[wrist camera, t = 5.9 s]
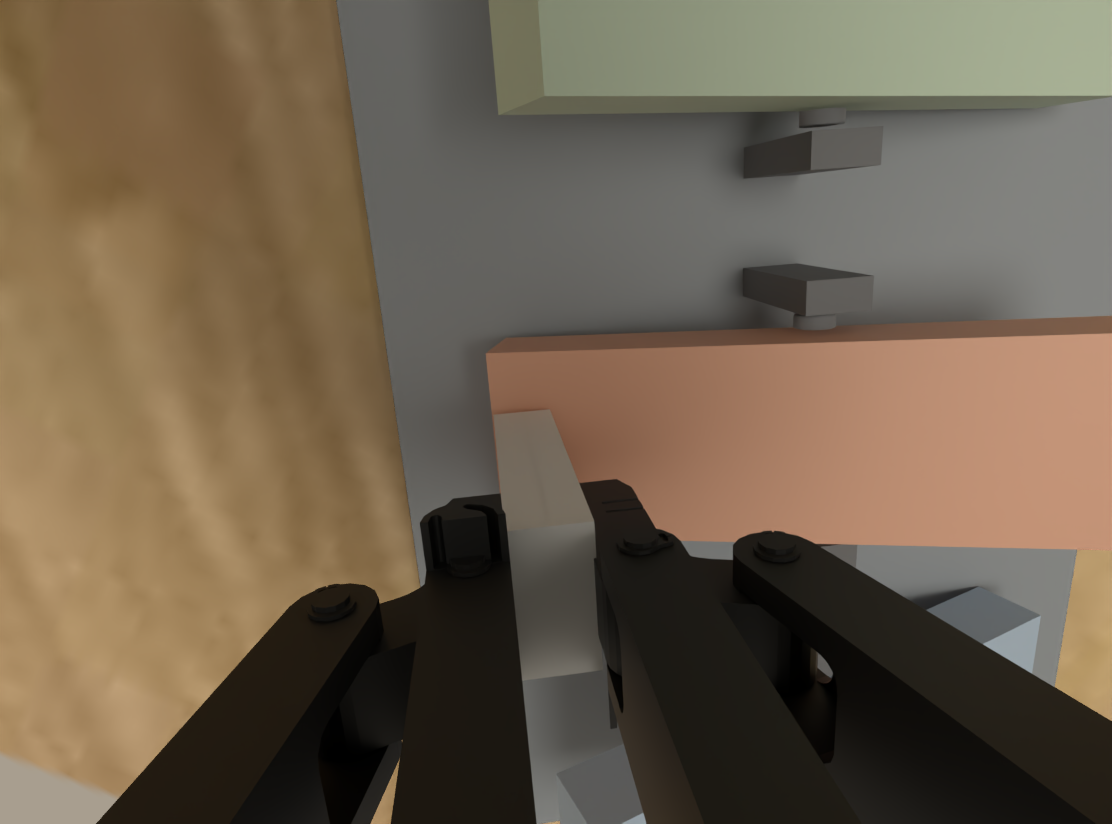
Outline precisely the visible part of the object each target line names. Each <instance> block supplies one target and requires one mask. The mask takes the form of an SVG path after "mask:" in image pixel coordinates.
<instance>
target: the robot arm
mask: <svg viewBox="0 0 1112 824" xmlns="http://www.w3.org/2000/svg"><path fill="white" fill-rule="evenodd" d="M493 416H494V427H495V438H496V448H497V459H498V469H499V480H500V491H501V493H499V494H490V495H481V496H471V497H462V498H453V499H452V500H451V501H450V502H449V503H448V504H447V505H445V506H442V507H439V508H437V509H434V510H432V511H431V512H429V513H428V514H426V515H425V516H424V517H423V519H422V520H421V522H420V529H421V537H422V544H423V551H424V558H425V566H426V577H425V584H424V585H423V586H422V587H420V588H419V589H417V590H415V591H414V592H412V593H410V594H408V595H405V596H402V597H400V598H397V599H394V600H391V601H387V602H384V603H381V604H379V598H378V596H377V594H376V592H375V590H373V589H371V588H369V587H367V586H365V585H359V584H333V585H328V587H326V586H325V587H322V588H319V589H316V590H315V591H313V592H311V593H309V594H307V595H305V596H303V597H301V598H300V599H299V600H297V601H296V602H295V603H294V604H292V605H291V606H290V607H289V608H288V609H287V610H286V611H285V613H284V614H283V615H282V616H281V617H280V618H279V619H278V620H277V621H276V623H275V624H274V625H273V626H272V627H271V628H270V629H269V630H268V632H267V633H266V634H265V635H264V636H263V637H262V638H261V639H260V641H259V642H258V643H257V644H256V645H255V646H254V647H253V648H252V650H251V651H250V652H249V653H248V654H247V655H246V656H245V657H244V658H243V660H242V661H241V662H240V663H239V664H238V665H237V666H236V667H235V669H234V670H233V671H232V672H231V673H230V674H229V675H228V676H227V678H226V679H225V680H224V681H223V682H222V683H221V684H220V685H219V687H218V688H217V689H216V690H215V691H214V692H213V693H212V694H211V695H210V697H209V698H208V699H207V700H206V701H205V702H204V703H203V704H202V706H201V707H200V708H199V709H198V710H197V711H196V712H195V713H194V715H193V716H192V717H191V718H190V719H189V720H188V721H187V722H186V724H185V725H184V726H183V727H182V728H181V729H180V730H179V731H178V732H177V734H176V735H175V736H174V737H173V738H172V739H171V740H170V741H169V743H168V744H167V745H166V746H165V747H164V748H163V749H162V750H161V752H160V753H159V754H158V755H157V756H156V757H155V758H154V759H153V761H152V762H151V763H150V764H149V765H148V766H147V767H146V768H145V769H144V771H143V772H142V773H141V774H140V775H139V776H138V777H137V778H136V780H135V781H134V782H133V783H132V784H131V785H130V786H129V787H128V789H127V790H126V791H125V792H124V793H123V794H122V795H121V796H120V798H119V799H118V800H117V801H116V802H115V803H114V804H113V806H112V807H111V808H110V809H109V810H108V811H107V812H106V813H105V814H104V815H103V817H102V818H101V819H100V820H99V821H98V822H97V823H96V824H370V823H371V821H372V819H373V816H374V814H375V812H376V810H377V808H378V805H379V803H380V801H381V799H382V796H383V794H384V792H385V790H386V787H387V785H388V783H389V781H390V779H391V776H392V774H393V772H394V770H395V767H396V765H397V763H398V761H399V758H400V762H399V769H398V776H397V783H396V791H395V798H394V805H393V812H392V819H391V824H537V822H536V812H535V802H534V792H533V783H532V773H531V763H530V753H529V743H528V733H527V723H526V713H525V703H524V693H523V683H522V681H524V680H532V679H539V678H547V677H554V676H563V675H570V674H578V673H585V672H593V671H600V670H603V661H602V649H603V653H604V656H605V659H606V662H607V679H608V697H609V714H610V729H615V728H617V722H618V726H619V729H620V733H621V736H622V740H623V743H624V747H625V750H626V754H627V757H628V761H629V764H630V768H631V771H632V775H633V778H634V782H635V785H636V789H637V792H638V796H639V799H640V803H641V806H642V810H643V813H644V817H645V820H646V824H1112V721H1110V720H1109V719H1107V718H1105V717H1103V716H1102V715H1100V714H1098V713H1097V712H1095V711H1093V710H1092V709H1090V708H1088V707H1087V706H1085V705H1083V704H1082V703H1080V702H1078V701H1077V700H1075V699H1073V698H1072V697H1070V696H1068V695H1067V694H1065V693H1063V692H1062V691H1060V690H1058V689H1057V688H1055V687H1053V686H1052V685H1050V684H1048V683H1047V682H1045V681H1043V680H1042V679H1040V678H1038V677H1037V676H1035V675H1033V674H1032V673H1030V672H1028V671H1027V670H1025V669H1023V668H1022V667H1020V666H1018V665H1017V664H1015V663H1013V662H1012V661H1010V660H1008V659H1007V658H1005V657H1003V656H1002V655H1000V654H998V653H997V652H995V651H993V650H992V649H990V648H988V647H987V646H985V645H983V644H982V643H980V642H978V641H977V640H975V639H973V638H972V637H970V636H968V635H967V634H965V633H963V632H962V631H960V630H958V629H957V628H955V627H953V626H952V625H950V624H948V623H947V622H945V621H943V620H942V619H940V618H938V617H937V616H935V615H933V614H932V613H930V612H928V611H927V610H925V609H923V608H922V607H920V606H918V605H917V604H915V603H913V602H912V601H910V600H908V599H907V598H905V597H903V596H902V595H900V594H898V593H897V592H895V591H893V590H892V589H890V588H888V587H886V586H885V585H883V584H881V583H880V582H878V581H876V580H875V579H873V578H871V577H870V576H868V575H866V574H865V573H863V572H861V571H860V570H858V569H856V568H855V567H853V566H851V565H850V564H848V563H846V562H845V561H843V560H841V559H840V558H838V557H836V556H835V555H833V554H831V553H830V552H828V551H826V550H825V549H823V548H821V547H820V546H818V545H816V544H815V543H813V542H811V541H809V540H807V539H804V538H802V537H800V536H797V535H792V534H787V533H785V532H782V531H774V532H772V531H762V532H759V533H752V534H749V535H746V536H744V537H741V538H739V539H738V540H737V541H736V542H735V543H734V544H733V560H725V559H708V558H698V557H693V556H690V555H689V553H688V552H687V550H686V549H685V547H684V545H683V544H682V542H681V541H680V540H679V539H678V538H677V537H676V536H675V535H674V534H671V533H669V532H666V531H664V530H661V529H656V528H655V526H654V524H653V522H652V521H651V519H650V517H649V516H648V514H647V512H646V511H645V509H643V505H642V504H641V502H640V500H638V497H637V495H636V493H635V492H634V490H633V488H632V487H631V486H629V485H627V484H625V483H623V482H621V481H620V480H618V479H611V480H602V481H593V482H584V483H579V482H578V479H577V476H576V474H575V471H574V469H573V466H572V464H571V461H570V459H569V456H568V454H567V451H566V449H565V446H564V444H563V441H562V439H561V436H560V434H559V431H558V429H557V426H556V424H555V421H554V419H553V416H552V414H551V411H550V409H546V410H536V411H526V412H515V413H505V414H495V415H493ZM818 653H819V654H820V655H821V656H822V657H823V658H824V660H825V661H826V662H827V663H828V665H829V667H830V669H831V670H832V672H833V675H832V678H830V677H829V676H827V675H826V674H825V673H823V672H822V671H821V670H820V669H819V668H818ZM401 740H403V741H401ZM400 754H401V755H400Z"/></svg>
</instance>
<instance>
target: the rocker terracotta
mask: <svg viewBox="0 0 1112 824" xmlns="http://www.w3.org/2000/svg"><path fill="white" fill-rule="evenodd" d="M486 362H487V372H488V382H489V391H490V401H491V411H492V421H493V431H494V441H495V450H496V460H497V470H498V480H499V469H498V459H497V448H496V438H495V427H494V416H493V415H495V414H505V413H515V412H526V411H536V410H546V409H550V411H551V414H552V416H553V419H554V421H555V424H556V426H557V429H558V431H559V434H560V436H561V439H562V441H563V444H564V446H565V449H566V451H567V454H568V456H569V459H570V461H571V464H572V466H573V469H574V471H575V474H576V476H577V479H578V482H579V483H584V482H593V481H602V480H611V479H618V480H620V481H621V482H623V483H625V484H627V485H629V486H631V487H632V488H633V490H634V492H635V493H636V495H637V497H638V500H640V502H641V504H642V505H643V509H645V511H646V512H647V514H648V516H649V517H650V519H651V521H652V522H653V524H654V526H655V528H656V529H661V530H664V531H666V532H669V533H671V534H674V535H675V536H676V537H677V538H678V539H679V540H680V541H712V542H736V541H737V540H738V539H739V538H741V537H744V536H746V535H749V534H752V533H759V532H762V531H772V532H774V531H782V532H785V533H787V534H792V535H797V536H800V537H802V538H804V539H807V540H809V541H811V542H813V543H815V544H848V545H893V546H939V547H984V548H1029V549H1075V550H1112V316H1091V317H1063V318H1036V319H1008V320H981V321H953V322H926V323H898V324H871V325H843V326H836V314H827V315H815V316H803V315H800V314H797V313H796V314H794V315H793V327H788V328H761V329H733V330H706V331H678V332H651V333H623V334H596V335H568V336H541V337H513V338H505V339H504V340H502V341H501V342H500V343H498V344H497V345H496V346H495V347H493V348H492V349H491V350H489V351H488V352H487V353H486ZM499 490H500V480H499ZM500 493H501V491H500Z"/></svg>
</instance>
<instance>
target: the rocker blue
mask: <svg viewBox="0 0 1112 824" xmlns="http://www.w3.org/2000/svg"><path fill="white" fill-rule="evenodd" d="M927 611H928V612H930V613H932V614H933V615H935V616H937V617H938V618H940V619H942V620H943V621H945V622H947V623H948V624H950V625H952V626H953V627H955V628H957V629H958V630H960V631H962V632H963V633H965V634H967V635H968V636H970V637H972V638H973V639H975V640H977V641H978V642H980V643H982V644H983V645H985V646H987V647H988V648H990V649H992V650H993V651H995V652H997V653H998V654H1000V655H1002V656H1003V657H1005V658H1007V659H1008V660H1010V661H1012V662H1013V663H1015V664H1017V665H1018V666H1020V667H1022V668H1023V669H1025V670H1027V671H1028V672H1030V673H1032V671H1033V664H1034V658H1035V651H1036V645H1037V638H1038V632H1039V625H1040V618H1041V615H1039V614H1037V613H1035V612H1033V611H1031V610H1028V609H1026V608H1024V607H1022V606H1020V605H1018V604H1015V603H1013V602H1011V601H1009V600H1007V599H1005V598H1003V597H1000V596H998V595H996V594H994V593H992V592H990V591H987V590H985V589H983V588H981V587H977V588H975V589H972V590H970V591H968V592H966V593H963V594H961V595H959V596H957V597H954V598H952V599H950V600H947V601H945V602H943V603H941V604H938V605H936V606H934V607H932V608H929V609H927ZM829 677H830V678H832V676H829ZM556 780H557V791H558V803H559V814H560V824H646V820H645V817H644V813H643V810H642V806H641V803H640V799H639V796H638V792H637V789H636V785H635V782H634V778H633V775H632V771H631V768H630V764H629V761H628V757H627V754H626V750H625V747H624V744H622V745H620V746H618V747H615V748H613V749H611V750H609V751H606V752H604V753H602V754H600V755H597V756H595V757H593V758H591V759H588V760H586V761H584V762H582V763H579V764H577V765H575V766H573V767H570V768H568V769H566V770H563V771H561V772H559V773H557V774H556Z"/></svg>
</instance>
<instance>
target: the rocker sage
mask: <svg viewBox="0 0 1112 824" xmlns="http://www.w3.org/2000/svg"><path fill="white" fill-rule="evenodd" d="M488 1H489V13H490V24H491V35H492V47H493V58H494V70H495V81H496V93H497V104H498V115H548V114H626V113H704V112H782V111H799V128H813V127H824V126H832V125H839V124H843V123H845V119H846V111H861V110H939V109H1017V108H1042V107H1048V106H1055V105H1062V104H1068V103H1075V102H1081V101H1088V100H1095V99H1101V98H1108V97H1112V0H488Z"/></svg>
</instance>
